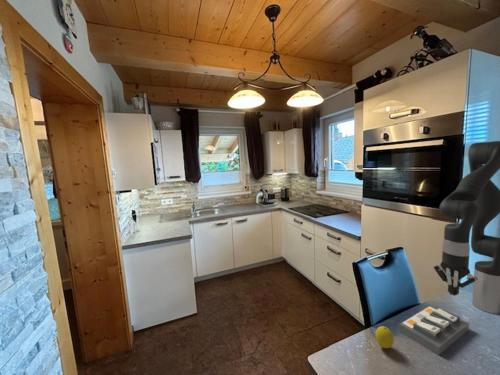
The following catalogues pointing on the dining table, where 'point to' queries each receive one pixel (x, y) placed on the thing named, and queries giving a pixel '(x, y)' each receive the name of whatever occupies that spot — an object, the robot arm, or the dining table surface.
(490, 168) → the robot arm
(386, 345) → the lemon
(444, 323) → the switch mid
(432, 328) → the switch
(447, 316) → the switch
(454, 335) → the switch unit
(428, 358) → the dining table surface
